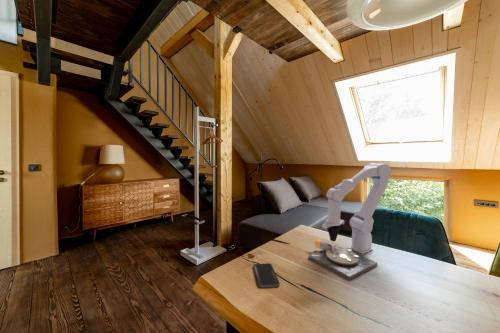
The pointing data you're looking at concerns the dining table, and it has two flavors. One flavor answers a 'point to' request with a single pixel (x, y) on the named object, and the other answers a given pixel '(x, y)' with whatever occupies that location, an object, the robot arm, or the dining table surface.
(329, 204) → the robot arm
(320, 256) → the base plate
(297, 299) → the dining table surface
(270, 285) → the phone
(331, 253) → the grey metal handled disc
